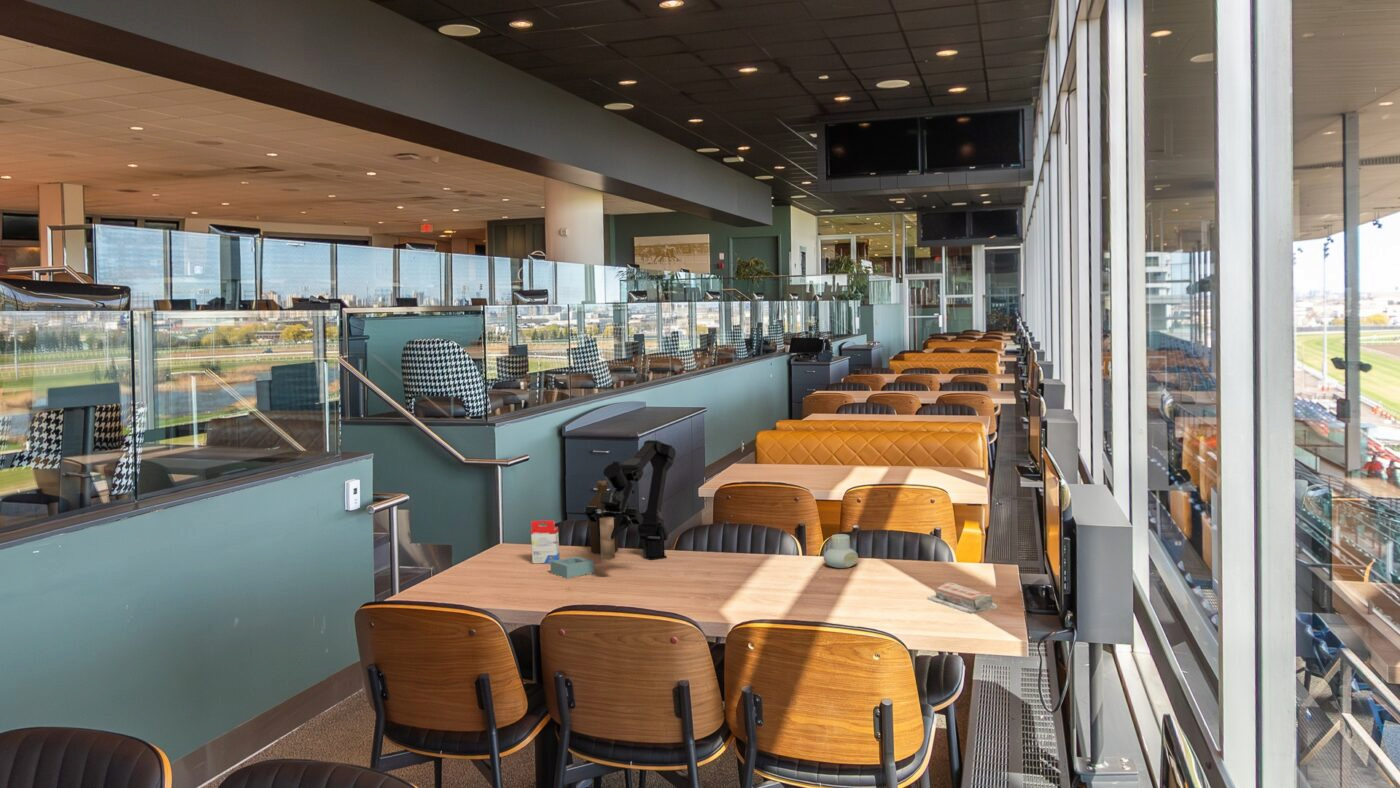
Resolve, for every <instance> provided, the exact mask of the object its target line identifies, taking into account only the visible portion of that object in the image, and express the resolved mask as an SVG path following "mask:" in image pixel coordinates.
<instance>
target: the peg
mask: <svg viewBox="0 0 1400 788" xmlns="http://www.w3.org/2000/svg"><path fill="white" fill-rule="evenodd" d="M613 529H614V518H613V517H602V518H600V545H601V554H600V559H601V560H612V559H615V558H616V552H615V541H614V539H612V538H611V534H612V531H613Z"/></svg>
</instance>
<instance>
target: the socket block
mask: <svg viewBox="0 0 1400 788" xmlns="http://www.w3.org/2000/svg"><path fill="white" fill-rule="evenodd" d="M594 563H595V562H594V560H591V559H589V558H588V559H587V558H584V557H581V556H573V557H567V558H560V560H554V561H551V564H550V574H551V573H553V574H552V575H554V574H556V575H555V576H557V575H559V576H558V577H560V576H562V577H561V578H564V577H565V578H564V579H567V578H568V579H572V578H571V577H573V578H576V577H575V576H578V577H581V576H580V575H583V576H586V575H585V574H588V575H591V574H590V573H593V574H594V573H595V569H594V568H595V566H594V565H595V564H594Z"/></svg>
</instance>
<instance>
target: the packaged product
mask: <svg viewBox="0 0 1400 788" xmlns="http://www.w3.org/2000/svg"><path fill="white" fill-rule="evenodd" d="M934 592H935V593H934V595H930V596H927V597H926V598H927V600H928V601H930V602H934V603H938V604H940V605H943V606H946V607H949V608H952V609H954V610H958V611H960V612H964V613H967V614H976V613H982V612H983V613H984V612H986V611H993V610H997V609H998V604H995V603H994V602H993V597H992V595H991V594H989V593H986V592H982V591H979V590H977V589H973V588H970V587H967V586H964V585H960V584H958V583H955V582H950V581H949V582H948V581H947V582H945V583H943V584H941V585H939V586H937V587H936V588H935V589H934Z"/></svg>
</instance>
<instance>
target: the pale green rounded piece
mask: <svg viewBox="0 0 1400 788" xmlns="http://www.w3.org/2000/svg"><path fill="white" fill-rule="evenodd" d="M830 537H831V539H830V543H831V547H830V548H828V549H827V550H826V551H825V552H824V554H823V560H824V562H825V564H827V565H828V566H829V567H831V568H836V569H849V568H851V567H852V566H855V565H856V564H857V562H858V560H859V555H858V552H856V551H855V549H853V548H852V547H851V540H850V535H848V534H845V533H837V534H832V535H831V536H830Z"/></svg>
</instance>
